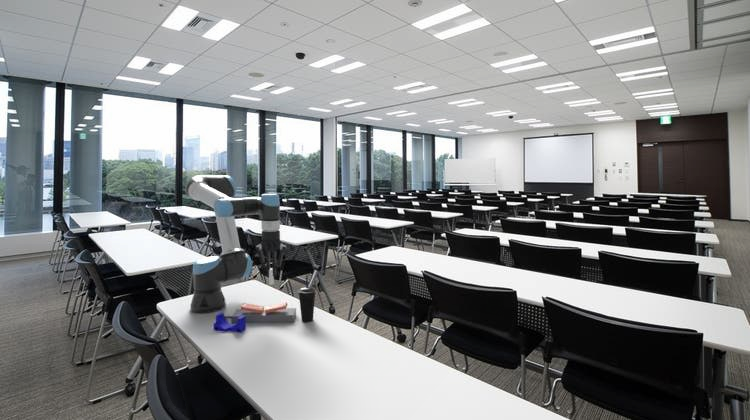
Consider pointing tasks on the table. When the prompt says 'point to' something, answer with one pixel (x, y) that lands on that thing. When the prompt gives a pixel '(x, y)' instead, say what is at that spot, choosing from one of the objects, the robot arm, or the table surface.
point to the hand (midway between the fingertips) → (271, 283)
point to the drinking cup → (307, 302)
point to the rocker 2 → (276, 307)
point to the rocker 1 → (252, 308)
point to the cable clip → (226, 326)
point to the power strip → (264, 316)
